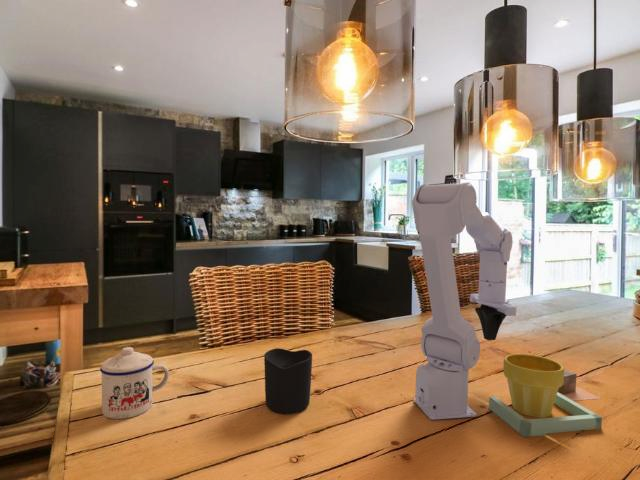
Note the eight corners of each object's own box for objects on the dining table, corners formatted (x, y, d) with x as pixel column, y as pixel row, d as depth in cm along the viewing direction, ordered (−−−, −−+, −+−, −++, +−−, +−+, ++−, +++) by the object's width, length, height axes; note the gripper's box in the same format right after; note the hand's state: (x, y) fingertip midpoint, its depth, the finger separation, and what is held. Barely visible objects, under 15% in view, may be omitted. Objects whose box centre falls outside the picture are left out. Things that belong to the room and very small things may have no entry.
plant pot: (508, 393, 83) (510, 349, 83) (564, 408, 77) (566, 360, 77) (496, 412, 75) (498, 362, 75) (558, 430, 69) (561, 376, 68)
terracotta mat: (558, 403, 79) (558, 401, 79) (524, 382, 89) (524, 381, 89) (600, 400, 81) (600, 398, 81) (562, 380, 91) (562, 378, 91)
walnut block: (563, 394, 82) (564, 376, 82) (545, 387, 86) (546, 369, 86) (575, 391, 84) (576, 373, 84) (557, 384, 88) (558, 367, 88)
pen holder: (291, 389, 83) (292, 344, 83) (321, 405, 76) (322, 356, 76) (254, 403, 77) (255, 353, 76) (283, 421, 70) (283, 367, 69)
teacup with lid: (103, 425, 67) (102, 360, 67) (98, 404, 75) (97, 345, 74) (174, 408, 74) (174, 348, 74) (163, 390, 82) (163, 336, 81)
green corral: (524, 437, 67) (525, 423, 66) (488, 408, 77) (489, 396, 76) (601, 430, 69) (601, 417, 69) (556, 403, 79) (557, 392, 79)
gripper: (530, 286, 82) (527, 348, 83) (489, 275, 96) (486, 329, 97) (500, 286, 81) (497, 350, 82) (463, 276, 95) (460, 330, 96)
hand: (489, 339), depth 89 cm, fingers closed
